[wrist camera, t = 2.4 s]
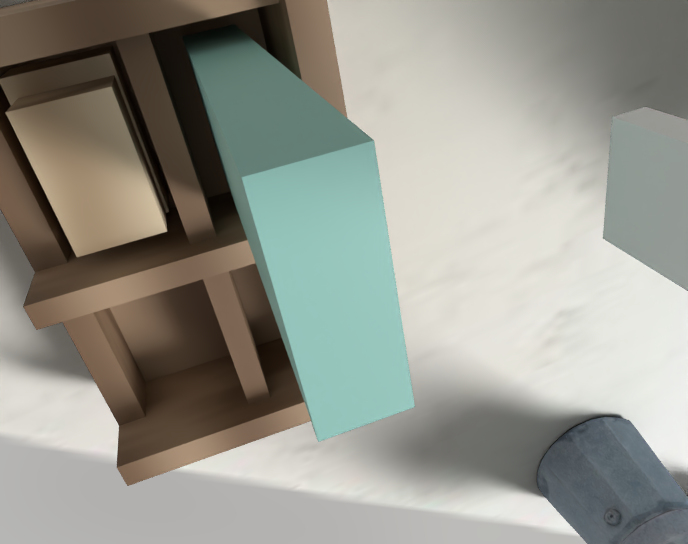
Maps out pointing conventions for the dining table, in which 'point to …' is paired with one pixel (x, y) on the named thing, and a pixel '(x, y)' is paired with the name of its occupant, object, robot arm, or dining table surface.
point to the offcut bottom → (76, 72)
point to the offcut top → (90, 164)
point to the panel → (309, 229)
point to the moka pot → (613, 486)
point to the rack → (165, 233)
